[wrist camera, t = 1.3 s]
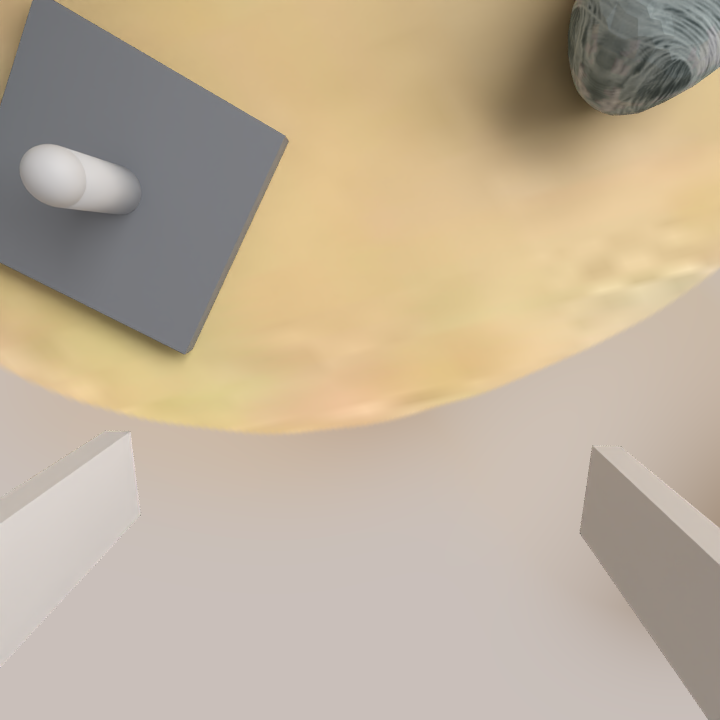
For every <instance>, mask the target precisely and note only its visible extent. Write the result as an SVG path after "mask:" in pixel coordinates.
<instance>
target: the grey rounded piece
mask: <svg viewBox="0 0 720 720" xmlns="http://www.w3.org/2000/svg"><path fill="white" fill-rule="evenodd" d="M568 57H569V63H570V69H571V74H572V78H573V82H574V85H575V87H576V89H577V92H578V93H579V94H580V96H581V97H582V98H583V99H584V100H585V101H586V102H587V103H588V104H589V105H590V106H591V107H593V108H594V109H596V110H598V111H600V112H602V113H605V114H609V115H627V114H635V113H640V112H643V111H645V110H647V109H649V108H652V107H654V106H656V105H659V104H661V103H663V102H665V101H667V100H669V99H671V98H673V97H674V96H676V95H678V94H680V93H682V92H684V91H685V90H687V89H689V88H691V87H693V86H694V85H696V84H697V83H698V82H700V81H701V80H702V79H704V78H705V77H707V76H708V75H709V74H711V73H712V72H713V71H715V70H716V69H718V68H719V67H720V0H576V1H575V3H574V6H573V9H572V14H571V18H570V23H569V31H568Z"/></svg>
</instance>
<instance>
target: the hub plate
mask: <svg viewBox="0 0 720 720" xmlns="http://www.w3.org/2000/svg"><path fill="white" fill-rule="evenodd" d="M288 142H289V141H288V139H287V138H286V136H285V135H283V134H281V133H280V132H278V131H276V130H274V129H273V128H271V127H269V126H268V125H266V124H264V123H262V122H261V121H259V120H257V119H256V118H254V117H252V116H250V115H249V114H247V113H245V112H244V111H242V110H240V109H239V108H237V107H235V106H233V105H232V104H230V103H228V102H227V101H225V100H223V99H221V98H220V97H218V96H216V95H215V94H213V93H211V92H209V91H208V90H206V89H204V88H203V87H201V86H199V85H197V84H196V83H194V82H192V81H191V80H189V79H187V78H185V77H184V76H182V75H180V74H179V73H177V72H175V71H174V70H172V69H170V68H168V67H167V66H165V65H163V64H162V63H160V62H158V61H156V60H155V59H153V58H151V57H150V56H148V55H146V54H144V53H143V52H141V51H139V50H138V49H136V48H134V47H132V46H131V45H129V44H127V43H126V42H124V41H122V40H120V39H119V38H117V37H115V36H114V35H112V34H110V33H109V32H107V31H105V30H103V29H102V28H100V27H98V26H97V25H95V24H93V23H91V22H90V21H88V20H86V19H85V18H83V17H81V16H79V15H78V14H76V13H74V12H73V11H71V10H69V9H67V8H66V7H64V6H62V5H61V4H59V3H57V2H55V1H54V0H33V1H32V4H31V8H30V11H29V14H28V17H27V21H26V24H25V27H24V30H23V34H22V37H21V40H20V43H19V47H18V50H17V53H16V56H15V60H14V63H13V66H12V69H11V73H10V76H9V79H8V82H7V86H6V89H5V92H4V95H3V99H2V102H1V105H0V263H2V264H4V265H6V266H8V267H10V268H12V269H14V270H16V271H18V272H20V273H22V274H24V275H26V276H28V277H30V278H32V279H34V280H36V281H38V282H40V283H42V284H44V285H46V286H48V287H50V288H52V289H54V290H56V291H58V292H60V293H62V294H64V295H66V296H68V297H70V298H72V299H74V300H76V301H78V302H80V303H82V304H84V305H86V306H88V307H90V308H92V309H94V310H96V311H98V312H100V313H102V314H104V315H106V316H108V317H110V318H112V319H114V320H116V321H118V322H120V323H122V324H124V325H126V326H128V327H130V328H132V329H134V330H136V331H138V332H140V333H142V334H144V335H146V336H149V337H151V338H153V339H155V340H157V341H159V342H161V343H163V344H165V345H167V346H169V347H171V348H173V349H175V350H177V351H179V352H181V353H183V354H186V353H188V352H189V351H191V350H192V349H193V347H194V345H195V343H196V341H197V338H198V336H199V334H200V332H201V330H202V328H203V325H204V323H205V321H206V319H207V317H208V315H209V312H210V310H211V308H212V306H213V304H214V302H215V299H216V297H217V295H218V293H219V291H220V289H221V286H222V284H223V282H224V280H225V278H226V276H227V274H228V271H229V269H230V267H231V265H232V263H233V261H234V258H235V256H236V254H237V252H238V250H239V248H240V245H241V243H242V241H243V239H244V237H245V235H246V232H247V230H248V228H249V226H250V224H251V222H252V219H253V217H254V215H255V213H256V211H257V209H258V207H259V204H260V202H261V200H262V198H263V196H264V194H265V191H266V189H267V187H268V185H269V183H270V181H271V178H272V176H273V174H274V172H275V170H276V168H277V165H278V163H279V161H280V159H281V157H282V155H283V152H284V150H285V148H286V146H287V144H288Z"/></svg>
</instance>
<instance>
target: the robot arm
mask: <svg viewBox="0 0 720 720" xmlns="http://www.w3.org/2000/svg"><path fill="white" fill-rule="evenodd" d="M140 516H141V514H140V505H139V497H138V489H137V480H136V473H135V464H134V456H133V448H132V439H131V432H130V431H104V432H102V433H101V434H99V435H98V436H96V437H94V438H93V439H91V440H90V441H88V442H87V443H85V444H83V445H82V446H80V447H79V448H77V449H76V450H74V451H72V452H71V453H69V454H68V455H66V456H65V457H63V458H62V459H60V460H58V461H57V462H55V463H54V464H52V465H51V466H49V467H48V468H46V469H45V470H43V471H41V472H40V473H38V474H37V475H35V476H34V477H32V478H30V479H29V480H27V481H26V482H24V483H23V484H21V485H19V486H18V487H16V488H15V489H13V490H12V491H10V492H9V493H7V494H5V495H4V496H2V497H1V498H0V667H1V666H2V665H3V664H4V663H5V662H6V661H7V660H8V659H9V657H10V656H11V655H12V654H13V653H14V652H15V651H16V650H17V649H18V648H19V647H20V645H21V644H22V643H23V642H24V641H25V640H26V639H27V638H28V637H29V636H30V635H31V634H32V633H33V631H34V630H35V629H36V628H37V627H38V626H39V625H40V624H41V623H42V622H43V621H44V620H45V619H46V617H47V616H48V615H49V614H50V613H51V612H52V611H53V610H54V609H55V607H57V605H58V604H59V603H60V602H61V601H62V600H63V599H64V598H65V597H66V596H67V595H68V594H69V592H70V591H71V590H72V589H73V588H74V587H75V586H76V585H77V584H78V583H79V582H80V581H81V580H82V579H83V577H84V576H85V575H86V574H87V573H88V572H89V571H90V570H91V569H92V568H93V567H94V565H95V564H96V563H97V562H98V561H99V560H100V559H101V558H102V557H103V556H104V555H105V554H106V552H107V551H108V550H109V549H110V548H111V547H112V546H113V545H114V544H115V543H116V542H117V541H118V540H119V538H120V537H121V536H122V535H123V534H124V533H125V532H126V531H127V530H128V529H129V528H130V527H131V525H132V524H133V523H134V522H135V521H136V520H137V519H138V518H139V517H140ZM580 534H581V536H582V537H583V539H584V540H585V542H586V543H587V544H588V546H589V547H590V549H591V550H592V551H593V553H594V554H595V556H596V557H597V559H598V560H599V562H600V563H601V565H602V566H603V568H604V569H605V570H606V572H607V573H608V575H609V576H610V578H611V579H612V581H613V582H614V584H615V585H616V586H617V588H618V589H619V591H620V592H621V594H622V595H623V597H624V598H625V599H626V601H627V602H628V604H629V605H630V607H631V608H632V610H633V611H634V612H635V614H636V615H637V617H638V618H639V620H640V621H641V623H642V624H643V626H644V627H645V628H646V630H647V631H648V633H649V634H650V636H651V637H652V639H653V640H654V641H655V643H656V644H657V646H658V647H659V649H660V650H661V652H662V653H663V655H664V656H665V658H666V659H667V660H668V662H669V663H670V665H671V666H672V668H673V669H674V670H675V672H676V673H677V675H678V676H679V678H680V679H681V681H682V682H683V683H684V685H685V687H686V688H687V689H688V691H689V692H690V694H691V695H692V697H693V698H694V699H695V701H696V702H697V704H698V705H699V707H700V708H701V709H702V711H703V713H704V714H705V716H706V717H707V718H708V720H720V528H719V527H717V526H716V525H715V524H714V523H713V522H712V521H710V520H709V519H708V518H707V517H706V516H704V515H703V514H702V513H701V512H699V511H698V510H697V509H696V508H695V507H693V506H692V505H691V504H690V503H688V502H687V501H686V500H685V499H684V498H683V497H681V496H680V495H679V494H678V493H677V492H675V491H674V490H673V489H672V488H671V487H669V486H668V485H667V484H666V483H664V482H663V481H662V480H661V479H660V478H658V477H657V476H656V475H655V474H654V473H652V472H651V471H650V470H649V469H648V468H646V467H645V466H644V465H643V464H642V463H640V462H639V461H638V460H637V459H636V458H634V457H633V456H632V455H631V454H629V453H628V452H627V451H626V450H625V449H623V448H622V447H621V446H594V445H593V446H592V451H591V458H590V465H589V472H588V479H587V486H586V493H585V500H584V507H583V514H582V521H581V528H580Z"/></svg>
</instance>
